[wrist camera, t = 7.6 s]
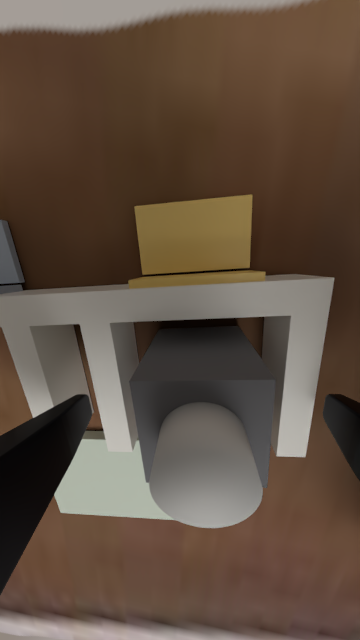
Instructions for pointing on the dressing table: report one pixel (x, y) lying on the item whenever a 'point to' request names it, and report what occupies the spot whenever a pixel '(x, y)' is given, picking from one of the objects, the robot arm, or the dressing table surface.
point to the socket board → (167, 317)
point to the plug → (204, 424)
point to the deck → (106, 482)
